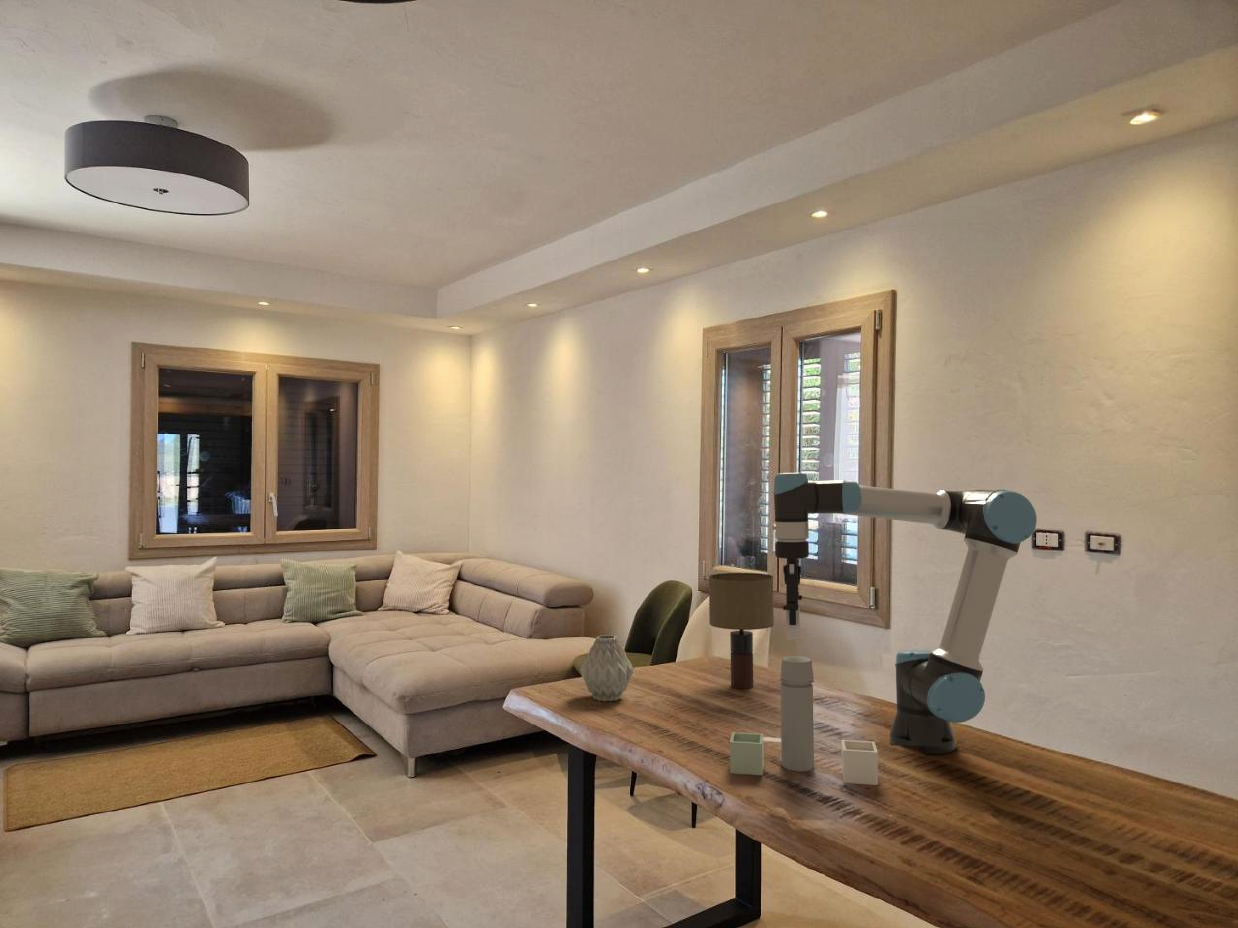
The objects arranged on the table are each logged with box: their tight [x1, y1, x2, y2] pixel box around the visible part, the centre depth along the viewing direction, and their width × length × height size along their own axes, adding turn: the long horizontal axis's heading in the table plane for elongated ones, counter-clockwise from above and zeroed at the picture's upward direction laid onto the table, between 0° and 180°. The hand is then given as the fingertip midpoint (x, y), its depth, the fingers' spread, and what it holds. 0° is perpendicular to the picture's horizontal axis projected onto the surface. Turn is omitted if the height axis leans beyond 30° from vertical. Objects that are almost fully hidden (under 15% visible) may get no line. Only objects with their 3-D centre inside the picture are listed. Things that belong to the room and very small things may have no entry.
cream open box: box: [840, 739, 879, 786], centre depth 173 cm, size 7×7×8 cm
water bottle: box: [778, 655, 815, 772], centre depth 182 cm, size 9×8×25 cm
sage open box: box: [729, 731, 765, 776], centre depth 179 cm, size 7×7×8 cm
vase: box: [579, 634, 635, 702], centre depth 243 cm, size 16×16×18 cm
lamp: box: [708, 572, 775, 690], centre depth 255 cm, size 20×20×35 cm
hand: (793, 633), depth 183 cm, fingers open, 13 cm apart
